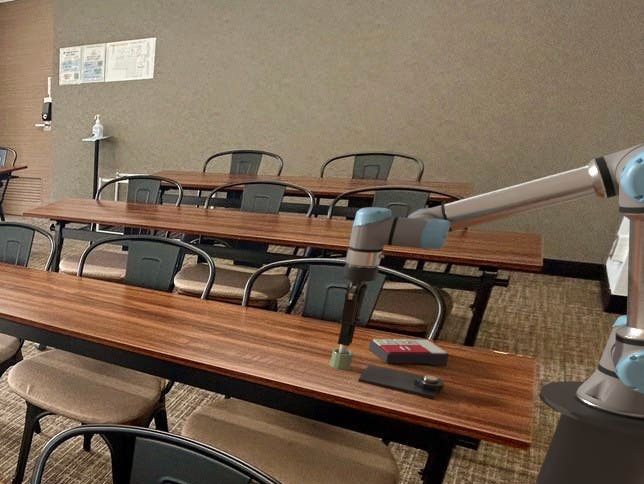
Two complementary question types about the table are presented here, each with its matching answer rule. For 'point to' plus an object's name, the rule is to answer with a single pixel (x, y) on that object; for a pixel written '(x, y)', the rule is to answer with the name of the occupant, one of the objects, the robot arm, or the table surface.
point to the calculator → (408, 351)
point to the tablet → (400, 381)
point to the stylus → (343, 349)
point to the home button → (430, 379)
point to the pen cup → (341, 360)
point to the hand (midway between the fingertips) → (344, 343)
